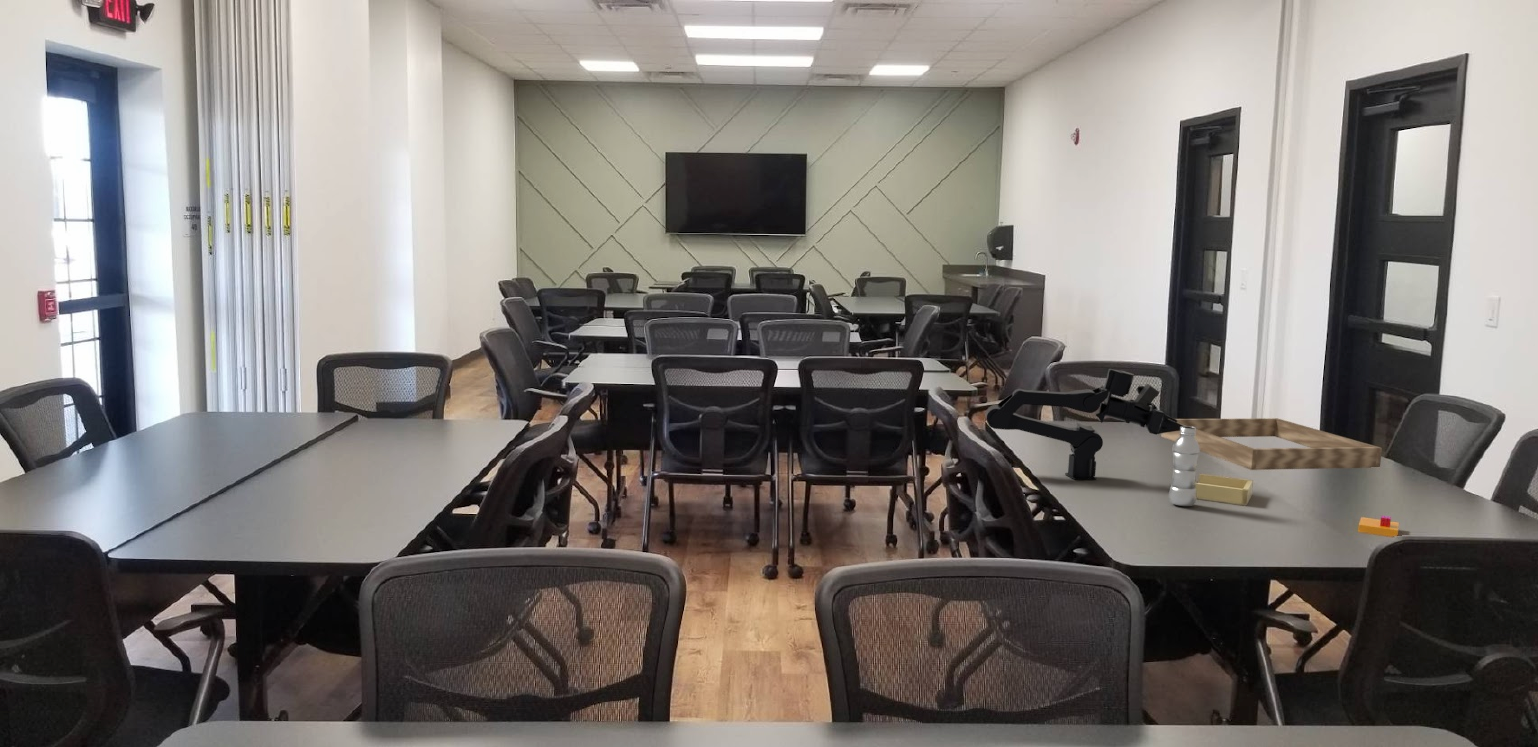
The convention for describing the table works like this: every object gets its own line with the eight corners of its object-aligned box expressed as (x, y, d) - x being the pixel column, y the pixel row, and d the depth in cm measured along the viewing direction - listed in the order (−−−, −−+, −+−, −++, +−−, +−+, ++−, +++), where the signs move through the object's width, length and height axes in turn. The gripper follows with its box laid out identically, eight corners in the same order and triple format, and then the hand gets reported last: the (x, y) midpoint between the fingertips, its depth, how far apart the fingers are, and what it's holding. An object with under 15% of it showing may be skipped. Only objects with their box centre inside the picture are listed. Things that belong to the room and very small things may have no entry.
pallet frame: (1251, 469, 320) (1252, 449, 319) (1161, 436, 368) (1162, 419, 367) (1379, 467, 328) (1382, 447, 328) (1275, 435, 376) (1277, 418, 375)
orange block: (1357, 533, 256) (1359, 515, 256) (1360, 525, 263) (1362, 508, 263) (1397, 539, 252) (1399, 521, 252) (1398, 531, 259) (1400, 514, 258)
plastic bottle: (1183, 509, 272) (1189, 430, 269) (1162, 503, 278) (1168, 425, 275) (1201, 507, 275) (1208, 429, 272) (1180, 500, 281) (1186, 424, 278)
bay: (1191, 498, 284) (1192, 483, 284) (1198, 487, 296) (1199, 473, 295) (1246, 505, 278) (1247, 490, 277) (1251, 495, 289) (1253, 480, 289)
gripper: (1138, 387, 290) (1197, 402, 288) (1126, 377, 308) (1181, 391, 306) (1126, 427, 291) (1184, 442, 290) (1114, 415, 310) (1169, 429, 308)
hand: (1180, 425), depth 298 cm, fingers open, 9 cm apart
